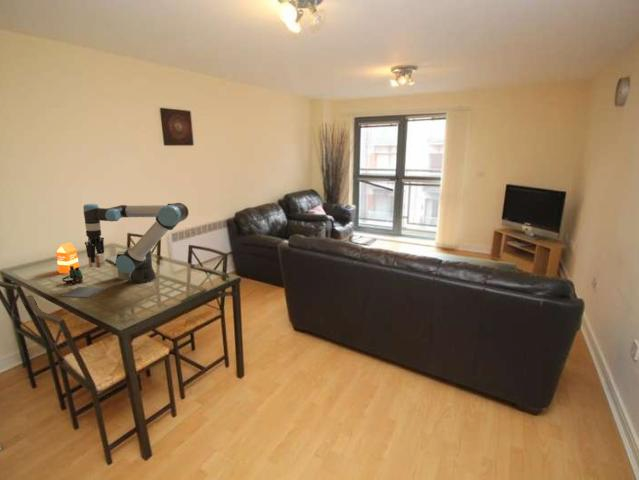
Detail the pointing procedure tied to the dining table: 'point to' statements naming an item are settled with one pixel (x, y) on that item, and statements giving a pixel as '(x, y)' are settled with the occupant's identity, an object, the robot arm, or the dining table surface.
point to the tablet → (112, 258)
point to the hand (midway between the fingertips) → (97, 266)
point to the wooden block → (98, 260)
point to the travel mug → (120, 274)
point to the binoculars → (74, 276)
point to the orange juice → (66, 257)
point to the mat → (82, 292)
